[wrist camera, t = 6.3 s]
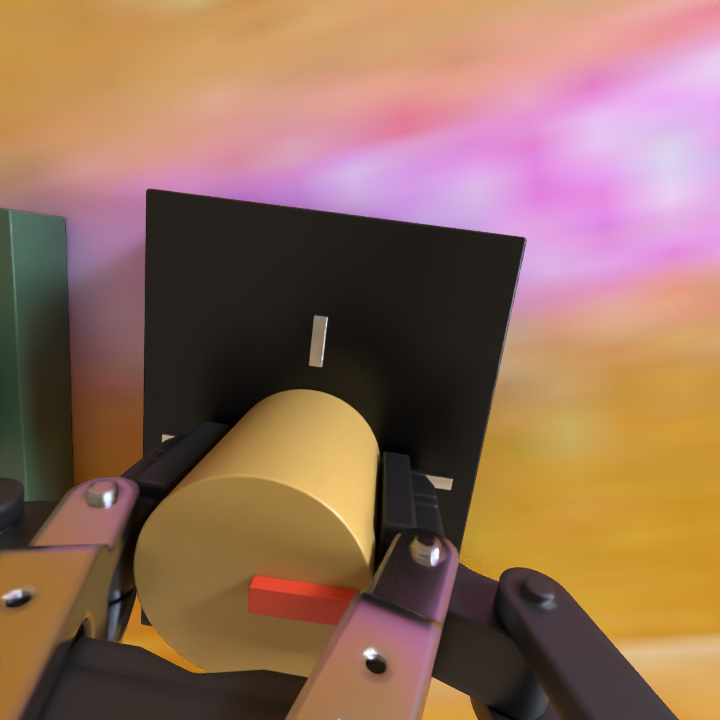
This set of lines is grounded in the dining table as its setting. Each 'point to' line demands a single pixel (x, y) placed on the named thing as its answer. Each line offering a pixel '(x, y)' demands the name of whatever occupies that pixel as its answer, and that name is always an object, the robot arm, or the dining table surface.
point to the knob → (265, 538)
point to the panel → (328, 326)
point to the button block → (35, 355)
